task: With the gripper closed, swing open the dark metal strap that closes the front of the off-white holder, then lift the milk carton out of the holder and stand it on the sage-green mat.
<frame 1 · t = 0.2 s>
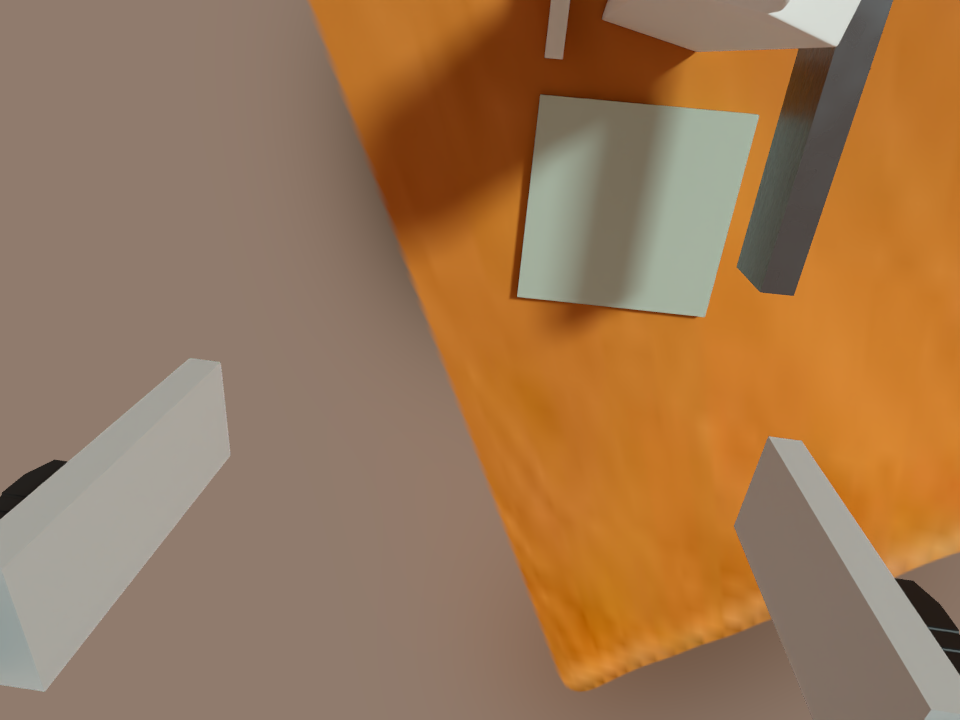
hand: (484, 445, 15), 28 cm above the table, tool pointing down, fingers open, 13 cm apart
mat: (626, 211, 40), on the table
strap: (842, 25, 26), point 9 cm above the table, hinge at 0.0°
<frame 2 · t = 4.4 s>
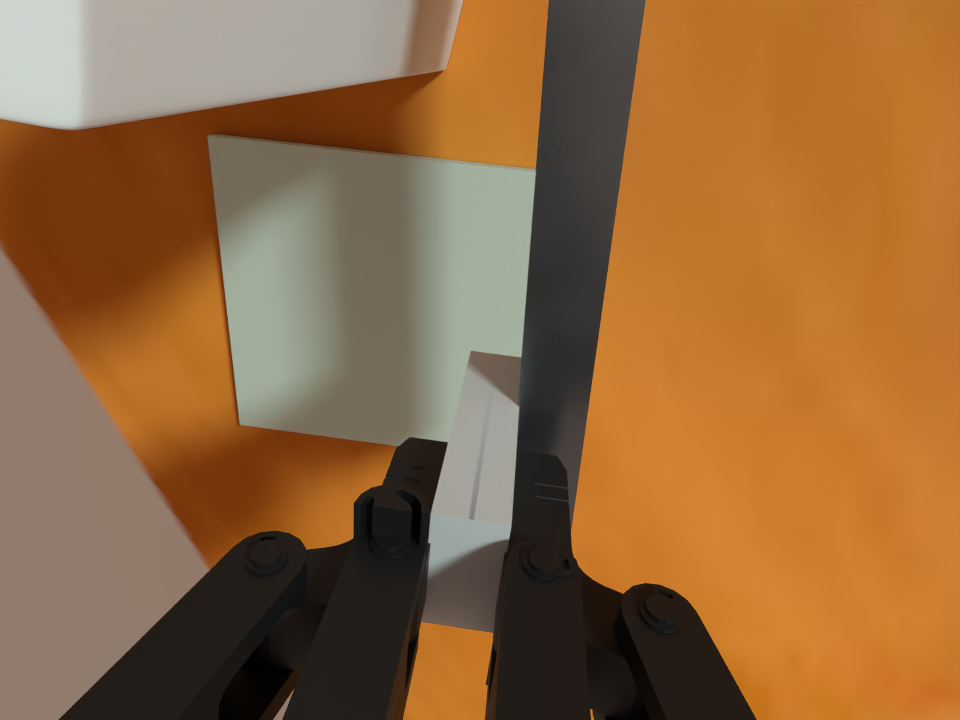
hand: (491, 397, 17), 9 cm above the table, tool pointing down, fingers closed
mat: (379, 310, 26), on the table
strap: (586, 35, 12), point 10 cm above the table, hinge at 3.0°, touching gripper
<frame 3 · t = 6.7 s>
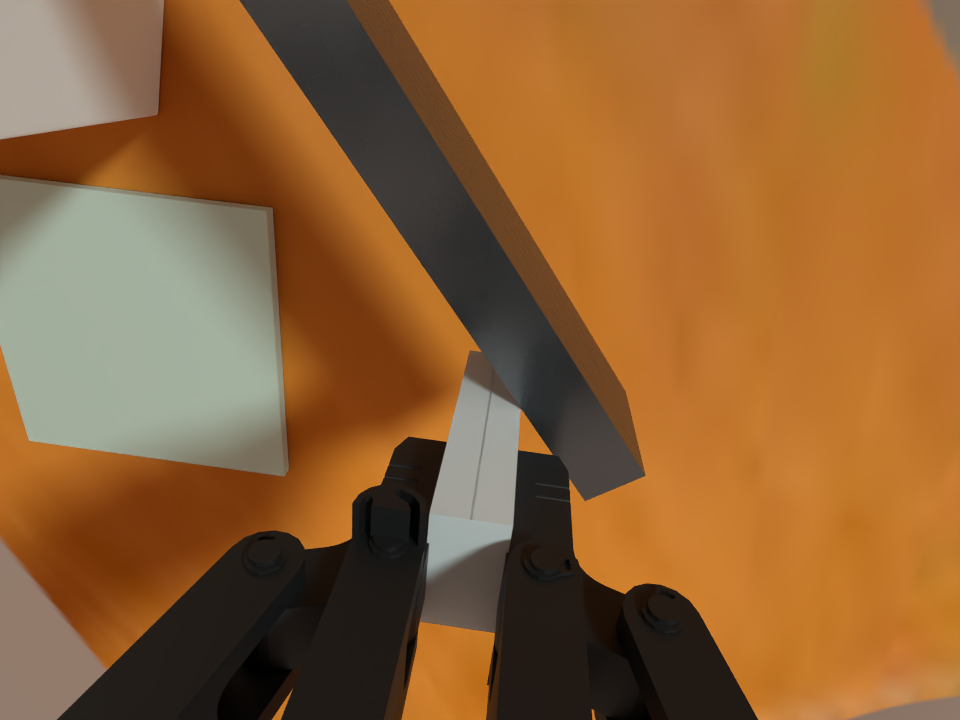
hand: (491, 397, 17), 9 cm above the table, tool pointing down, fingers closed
mat: (141, 334, 27), on the table
strap: (344, 31, 12), point 10 cm above the table, hinge at 38.2°, touching gripper
milk: (86, 3, 22), on the table
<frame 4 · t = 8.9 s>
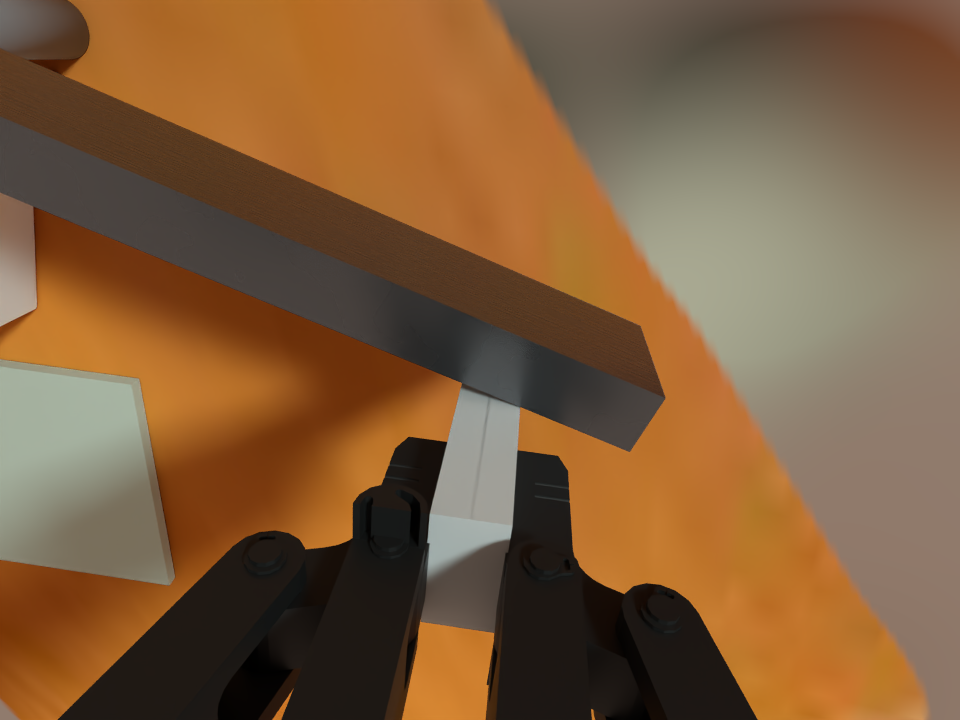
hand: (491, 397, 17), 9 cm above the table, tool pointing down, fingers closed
mat: (39, 469, 32), on the table
strap: (200, 198, 14), point 10 cm above the table, hinge at 73.2°, touching gripper
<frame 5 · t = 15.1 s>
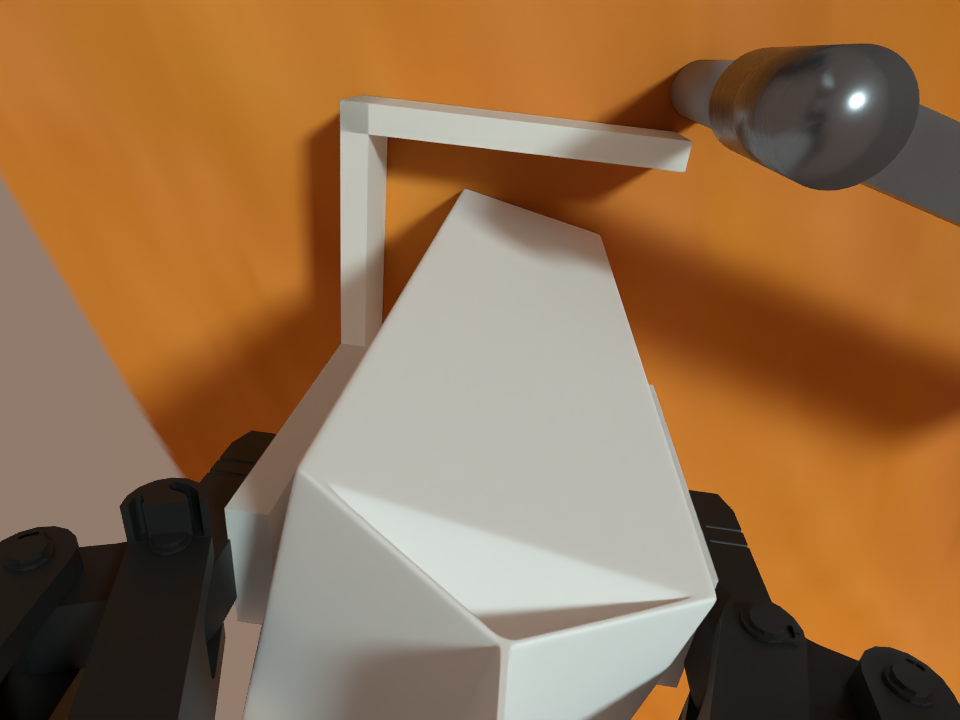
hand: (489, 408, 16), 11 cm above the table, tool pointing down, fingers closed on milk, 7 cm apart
holder: (509, 276, 26), on the table
milk: (509, 274, 26), on the table, touching gripper
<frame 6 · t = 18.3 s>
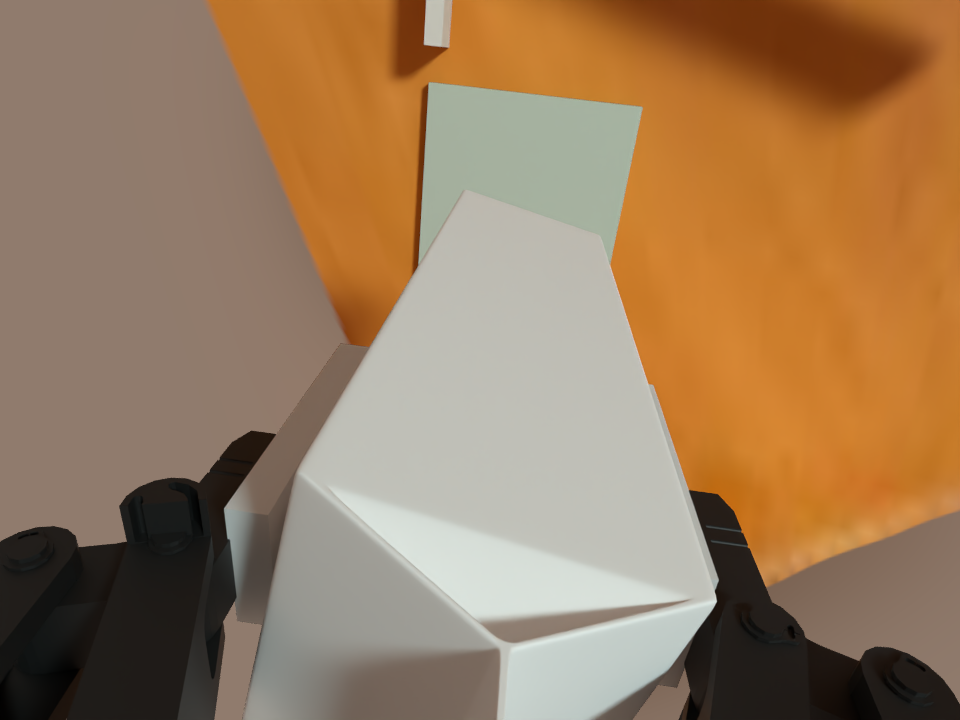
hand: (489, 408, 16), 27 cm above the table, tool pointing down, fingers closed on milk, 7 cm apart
mat: (521, 200, 40), on the table
milk: (509, 275, 26), point 15 cm above the table, touching gripper
when the fingers open (13 cm above the table, at t = 21.8 s): milk stays where it is, resting on mat.
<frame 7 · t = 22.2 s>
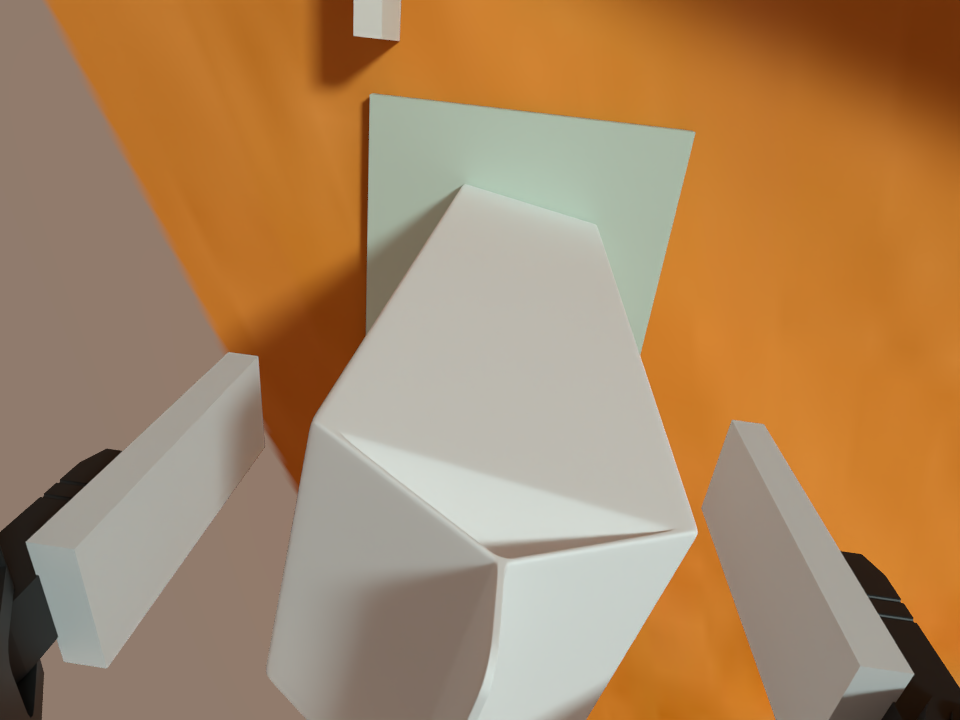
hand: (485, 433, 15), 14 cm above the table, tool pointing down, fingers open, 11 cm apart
mat: (511, 265, 27), on the table
milk: (510, 266, 27), resting on mat
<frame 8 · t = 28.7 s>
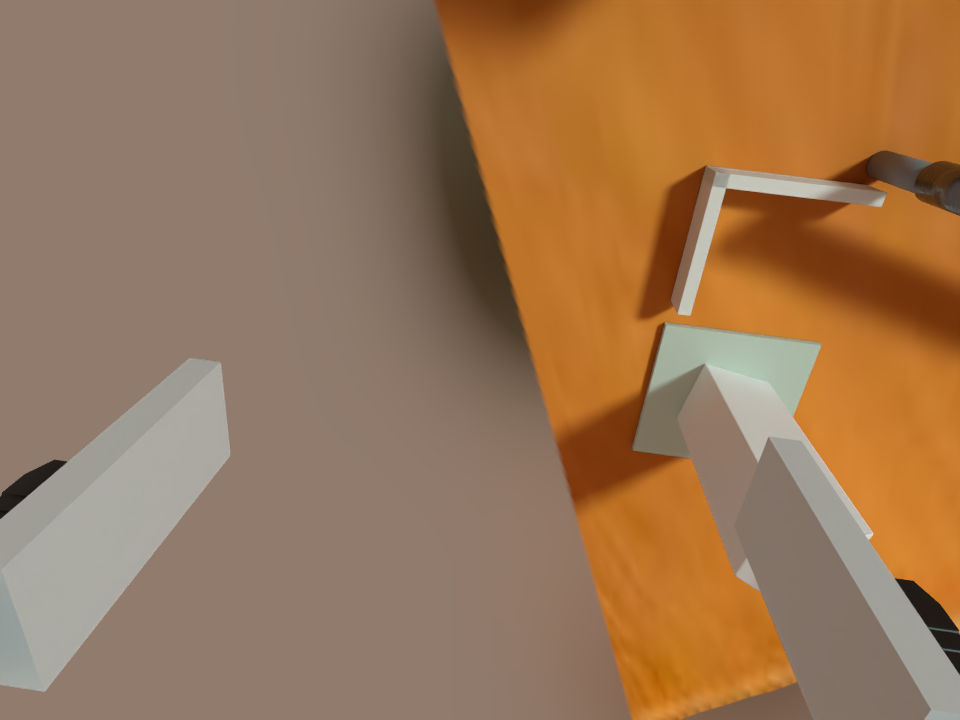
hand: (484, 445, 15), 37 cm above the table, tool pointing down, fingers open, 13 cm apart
mat: (719, 397, 54), on the table
holder: (765, 258, 48), on the table
milk: (720, 399, 54), resting on mat
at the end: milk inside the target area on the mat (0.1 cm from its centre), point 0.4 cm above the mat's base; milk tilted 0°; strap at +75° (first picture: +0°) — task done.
